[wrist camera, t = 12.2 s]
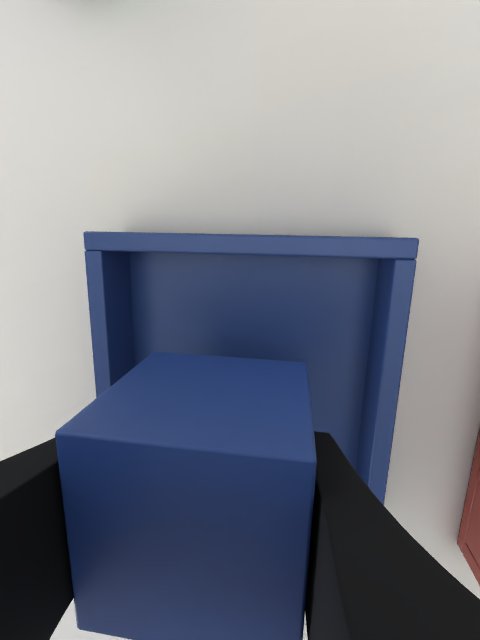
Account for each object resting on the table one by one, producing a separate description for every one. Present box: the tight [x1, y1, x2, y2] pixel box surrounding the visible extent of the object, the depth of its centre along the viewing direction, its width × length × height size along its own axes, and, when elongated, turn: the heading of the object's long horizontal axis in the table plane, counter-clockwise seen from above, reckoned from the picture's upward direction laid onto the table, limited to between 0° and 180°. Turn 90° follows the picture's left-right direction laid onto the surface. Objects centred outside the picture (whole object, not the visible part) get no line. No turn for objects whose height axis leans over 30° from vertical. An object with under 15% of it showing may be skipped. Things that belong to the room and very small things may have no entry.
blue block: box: [55, 352, 317, 640], centre depth 8 cm, size 4×4×4 cm
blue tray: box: [84, 231, 419, 505], centre depth 13 cm, size 11×10×2 cm
